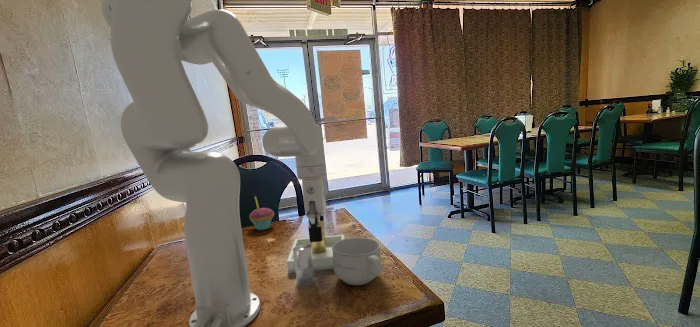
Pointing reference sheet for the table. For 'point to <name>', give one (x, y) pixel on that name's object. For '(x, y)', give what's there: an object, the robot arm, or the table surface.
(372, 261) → the teacup
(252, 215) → the cupcake
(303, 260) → the steel roller
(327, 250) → the tray
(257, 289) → the table surface
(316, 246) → the brass roller
